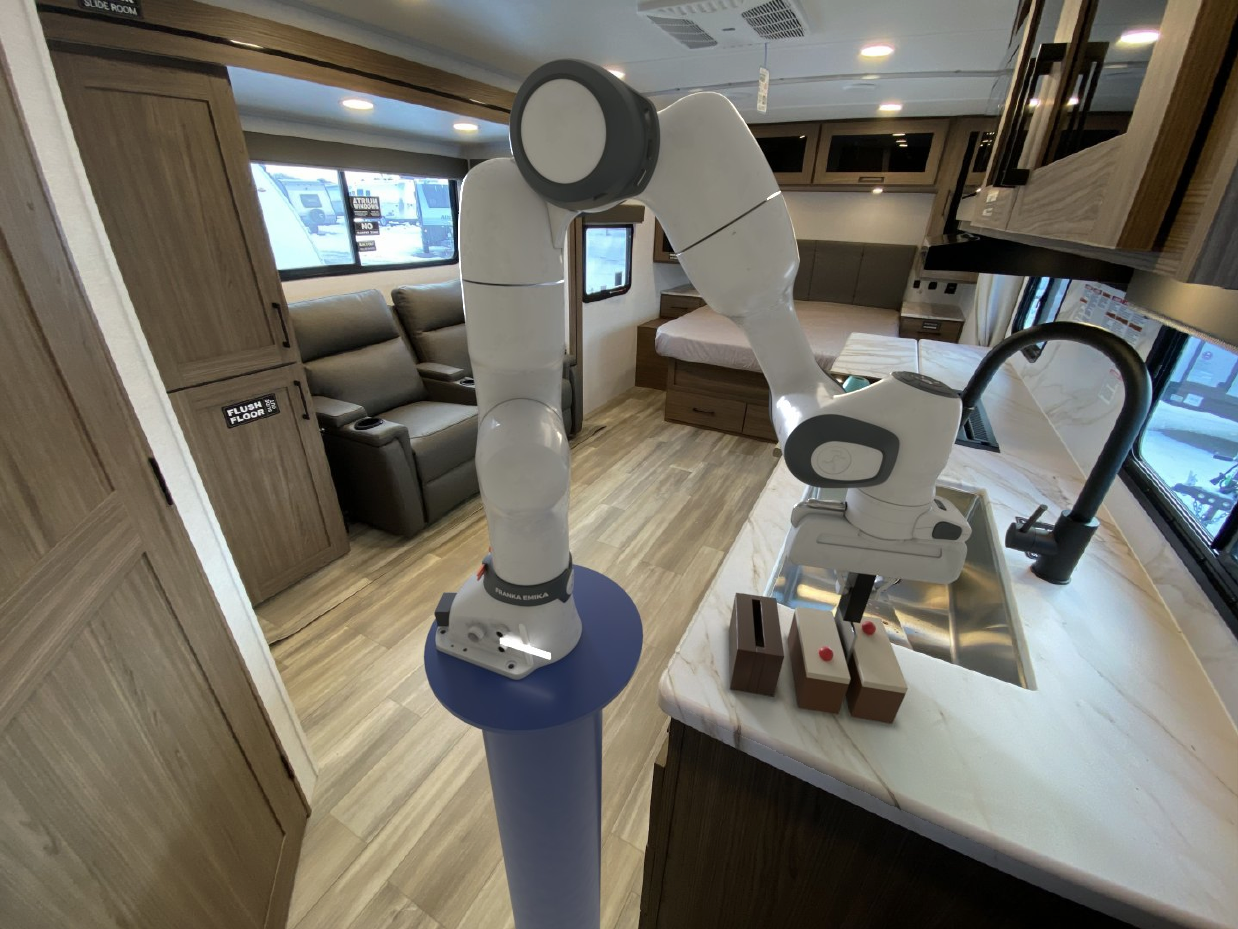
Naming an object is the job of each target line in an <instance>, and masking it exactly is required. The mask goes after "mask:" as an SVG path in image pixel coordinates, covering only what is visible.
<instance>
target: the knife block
mask: <svg viewBox="0 0 1238 929" xmlns="http://www.w3.org/2000/svg"><path fill="white" fill-rule="evenodd" d="M778 608H779V607H778V602H777V597H770V596H765V595H764V596H763V595H755V594H748V593H742V592H735V595H734V598H733V604H732V611H731V617H730V622H729V626H728V658H729V660H728V661H729V662H728V663H729V664H728V665H729V667H728V668H729V669H728V670H729V690H731V691H735V692H736V691H737V692H743V693H748V694H753V695H759V696H766V697H772V698H775V694H776V690H777V686H778V683H779V679H780V675H781V671H782V668H783V663H784V660H785V651H784V644H783V637H782V629H781V623H780V616H779V609H778Z"/></svg>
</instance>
